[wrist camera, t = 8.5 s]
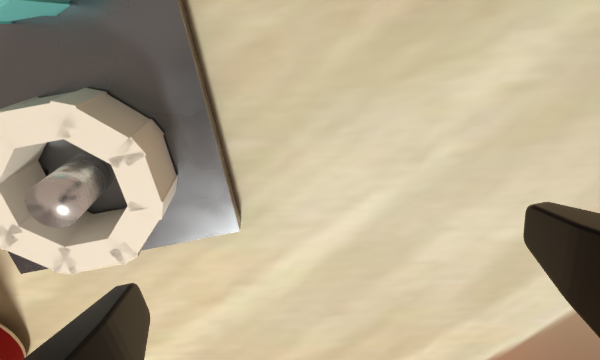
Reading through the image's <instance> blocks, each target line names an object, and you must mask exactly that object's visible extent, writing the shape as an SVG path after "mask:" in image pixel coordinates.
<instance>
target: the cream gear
mask: <svg viewBox="0 0 600 360" xmlns="http://www.w3.org/2000/svg"><path fill="white" fill-rule="evenodd" d="M163 135H164V133H163V132H162V131H161V129H160V128H159V127H158V126H157V124H156V123H155V122H154V121H153V120H152V119H148V118H147V117H145V116H143V115H142V114H140V113H138V112H137V111H135V110H133V109H132V108H130V107H128V106H127V105H125V104H123V103H122V102H120V101H118V100H116V99H115V98H113V97H111V96H110V95H108V94H107V92H105V91H100V90H95V89H90V88H83V89H80V90H78V91H74V92H69V93H63V94H58V95H53V96H47V97H42V98H38V97H34V98H31V99H28V100H25V101H22V102H19V103H16V104H13V105H10V106H7V107H4V108H1V109H0V248H1V249H2V250H7V251H9V252H12V253H14V254H16V255H19V256H21V257H23V258H26V259H28V260H30V261H33V262H35V263H37V264H40V265H42V266H44V267H47V268H49V269H51V270H54V272H57V273H66V274H75V275H76V273H79V272H84V271H89V270H94V269H99V268H104V267H110V266H115V265H120V264H122V265H124V264H126V263H128V262H129V261H131V260H132V259H134V258H136V257H137V256H139V254H140V252H141V250H142V248H143V246H144V244H145V242H146V240H147V238H148V237H149V235H150V234H151V232H152V231H153V229H154V227H155V226H156V224H157V223H158V221H159V220H162V218H163V216H164V214H165V212H166V210H167V208H168V206H169V204H170V202H171V200H172V198H173V196H174V194H175V192H176V187H177V178H178V175H176V173H175V170H174V167H173V164H172V161H171V158H170V155H169V152H168V149H167V146H166V143H165V140H164V136H163ZM62 139H64V140H66V141H68V142H70V143H72V144H73V145H75V146H77V147H79V148H81V149H83V150H85V151H87V152H88V153H90V154H92V155H94V156H96V157H98V158H100V159H101V160H103V161H105V162H107V163H109V164H111V166H112V168H113V171H114V173H115V176H116V178H117V181H118V183H119V186H120V188H121V190H122V193H123V195H124V198H125V200H126V203H127V205H128V206H127V208H123V209H118V210H112V211H107V212H102V213H97V214H92V213H90V212H88V211H85V212H84V213H83V215H82V216H81V217H80V218H79V219H78V220H77V221H76V222H75V223H74V224H72V225H70V226H68V227H64V228H53V227H49V226H46V225H43V224H41V223H39V222H38V221H37V220H35V219H34V218H33V217H32V216H31V215H30V213H29V212H28V210H27V207H26V203H25V198H26V194H27V192H28V191H29V190H30V188H32V187H33V186H34V185H36V184H37V183H38V182H40V181H41V180H43V179H44V178H45V177H46V175H45V173H44V171H43V169H42V167H41V165H40V163H39V161H38V160H39V158H40V156H41V154H42V152H43V150H44V148H45V146H46V144H47V142H51V141H56V140H62Z"/></svg>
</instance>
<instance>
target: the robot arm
mask: <svg viewBox="0 0 600 360" xmlns="http://www.w3.org/2000/svg"><path fill="white" fill-rule="evenodd" d="M524 241H525V244H526V246H527V247H528V249H529V250H530V252H531V253H532V254H533V256H534V257H535V258H536V260H537V261H538V263H539V264H540V265H541V267H542V268H543V269H544V271H545V272H546V273H547V275H548V276H549V278H550V279H551V280H552V282H553V283H554V284H555V286H556V287H557V288H558V290H559V291H560V293H561V294H562V295H563V296H564V298H565V299H566V300H567V301H568V303H569V304H570V305H571V306H572V307H573V309H574V310H575V311H576V312H577V313H578V314H579V315H580V316H581V318H582V319H583V320H584V321H585V322H586V323H587V324H588V325H589V327H590V328H591V329H592V330H593V331H594V332H595V333H596V334H597V336H598V337H599V338H600V213H596V212H591V211H587V210H582V209H578V208H573V207H569V206H564V205H560V204H555V203H551V202H542V203H538V204H533V205H530V206H528V207H527V209H526V214H525V224H524ZM149 325H150V313H149V309H148V307H147V305H146V302H145V300H144V298H143V295H142V293H141V291H140V289H139V287H138V286H137V284H134V283H130V284H125V285H120V286H117V287H115V288H113V289H112V290H111V291H110V292H108V293H107V294H106V295H104V296H103V297H102V298H101V299H99V300H98V301H97V302H96V303H94V304H93V305H92V306H90V307H89V308H88V309H87V310H85V311H84V312H83V313H82V314H80V315H79V316H78V317H76V318H75V319H74V320H73V321H71V322H70V323H69V324H68V325H66V326H65V327H64V328H63V329H61V330H60V331H59V332H57V333H56V334H55V335H54V336H52V337H51V338H50V339H49V340H47V341H46V342H45V343H43V344H42V345H41V346H40V347H38V348H37V349H36V350H35V351H33V352H32V353H31V354H29V355H28V356H27V357H26V358H24V359H23V360H144V357H145V351H146V344H147V338H148V331H149Z"/></svg>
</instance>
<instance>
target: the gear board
mask: <svg viewBox="0 0 600 360" xmlns="http://www.w3.org/2000/svg"><path fill="white" fill-rule="evenodd" d="M69 3H70V4H71V5H70V6H69V7H67V8H66V9H65V10H63V11H62V12H61V13H60V14H58V15H57V16H38V17H33V18H27V19H21V20H16V21H11V23H12V24H0V109H1V108H4V107H7V106H10V105H13V104H16V103H19V102H22V101H25V100H28V99H31V98H34V97H38V98H42V97H47V96H53V95H58V94H63V93H69V92H74V91H78V90H80V89H83V88H90V89H95V90H100V91H105V92H107V94H108V95H110V96H111V97H113V98H115V99H116V100H118V101H120V102H122V103H123V104H125V105H127V106H128V107H130V108H132V109H133V110H135V111H137V112H138V113H140V114H142V115H143V116H145V117H147V118H148V119H152V120H153V121H154V122H155V123H156V124H157V126H158V127H159V128H160V129H161V131H162V132H163V133H164V135H163V136H164V140H165V143H166V146H167V149H168V152H169V155H170V158H171V161H172V164H173V167H174V170H175V173H176V175H178V178H177V187H176V192H175V194H174V196H173V198H172V200H171V202H170V204H169V206H168V208H167V210H166V212H165V214H164V216H163V218H162V220H159V221H158V223H157V224H156V226H155V227H154V229H153V231H152V232H151V234H150V235H149V237H148V238H147V240H146V242H145V244H144V246H143V248H142V250H146V249H151V248H156V247H162V246H167V245H172V244H177V243H182V242H187V241H193V240H198V239H203V238H208V237H213V236H218V235H223V234H229V233H234V232H239V231H240V225H241V219H240V215H239V211H238V207H237V204H236V200H235V196H234V192H233V189H232V185H231V181H230V177H229V174H228V170H227V166H226V162H225V159H224V155H223V151H222V147H221V144H220V140H219V136H218V132H217V129H216V125H215V121H214V117H213V114H212V110H211V106H210V102H209V99H208V95H207V91H206V87H205V83H204V80H203V76H202V72H201V68H200V65H199V61H198V57H197V53H196V50H195V46H194V42H193V38H192V35H191V31H190V27H189V23H188V20H187V16H186V12H185V8H184V5H183V1H182V0H70V2H69ZM38 161H39V163H40V165H41V167H42V169H43V171H44V173H45V175H46V177H45V178H44V179H43V180H41V181H40V182H38V183H37V184H36V185H34V186H33V187H32V188H30V190H29V191H28V192H27V194H26V198H25V203H26V207H27V210H28V212H29V213H30V215H31V216H32V217H33V218H34V219H35V220H37V221H38V222H39V223H41V224H43V225H46V226H49V227H53V228H64V227H68V226H70V225H72V224H74V223H75V222H76V221H77V220H78V219H79V218H80V217H81V216H82V215H83V213H84V212H85V211H88V212H90V213H92V214H97V213H102V212H107V211H112V210H118V209H123V208H127V206H128V205H127V203H126V200H125V198H124V195H123V193H122V190H121V188H120V186H119V183H118V181H117V178H116V176H115V173H114V171H113V168H112V166H111V164H109V163H107V162H105V161H103V160H101V159H100V158H98V157H96V156H94V155H92V154H90V153H88V152H87V151H85V150H83V149H81V148H79V147H77V146H75V145H73V144H72V143H70V142H68V141H66V140H64V139H62V140H56V141H51V142H47V144H46V146H45V148H44V150H43V152H42V154H41V156H40V158H39V160H38ZM8 253H9V254H10V256H11V258H12V259H13V261H14V263H15V264H16V266H17V268H18V270H19V271H20V273H21V274H22V273H27V272H33V271H38V270H43V269H48V268H47V267H44V266H42V265H40V264H37V263H35V262H33V261H30V260H28V259H26V258H23V257H21V256H19V255H16V254H14V253H12V252H9V251H8Z"/></svg>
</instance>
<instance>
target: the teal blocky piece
mask: <svg viewBox="0 0 600 360" xmlns="http://www.w3.org/2000/svg"><path fill="white" fill-rule="evenodd" d="M69 2H70V0H0V24H12V23H11V21H16V20H21V19H27V18H33V17H38V16H57V15H58V14H60V13H61V12H62V11H63V10H65V9H66V8H67V7H69V6H70V5H71V4H70V3H69Z"/></svg>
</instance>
